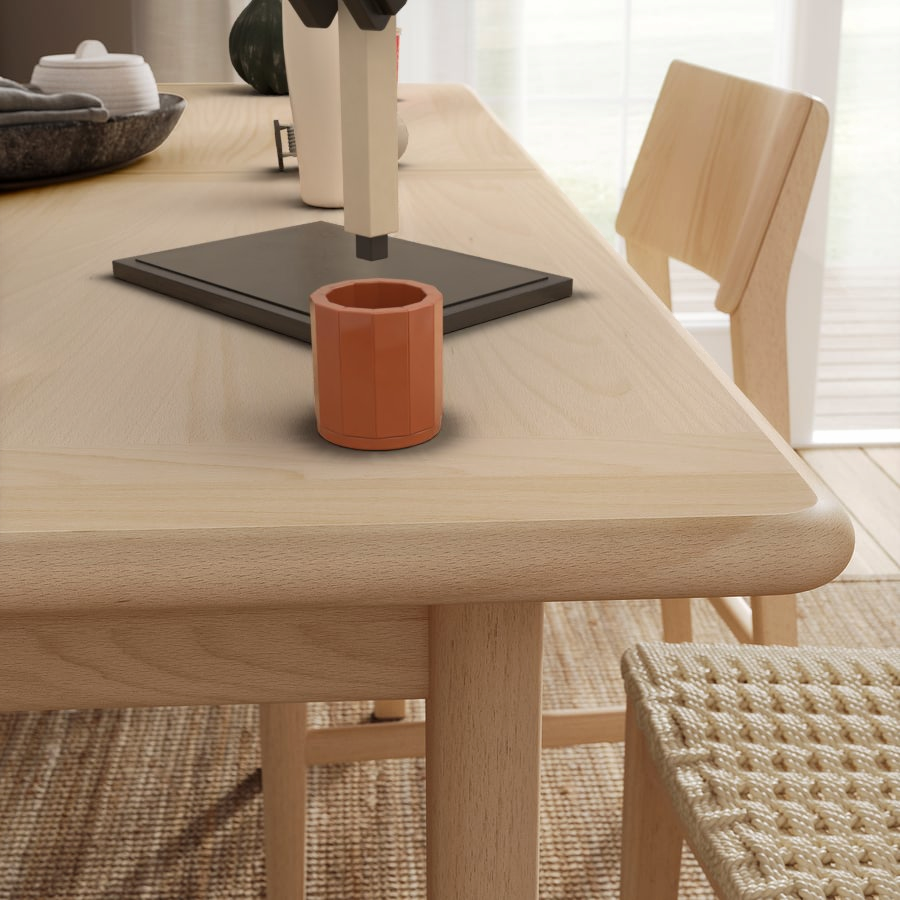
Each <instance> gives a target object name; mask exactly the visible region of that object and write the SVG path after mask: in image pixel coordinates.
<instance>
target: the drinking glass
mask: <svg viewBox="0 0 900 900" xmlns="http://www.w3.org/2000/svg"><path fill="white" fill-rule="evenodd" d="M282 27H283V46H284V57H285V66H286V74H287V82H288V89H289V91H288V96H289V104H290V111H291V118H292V123H293V127H294V135H295V142H296V150H297V157H296V158H297V166H298V177H299V193H300V198H301V200H302V201H303V202H304V203H305V204H306V205H308V206H313V207H317V208H327V209H328V208H329V209H330V208H331V209H336V208H337V209H338V208H344V199H343V166H342V133H341V99H340V66H339V33H338V12H337V14H336V15H335V17H334V19H333V21H332V23H331V25H330V26H329V27H328V28H308V27H306V26H305V25H304V24H303V22H302V21H301V19H300V18H299V16H298V15H297V13H296V12H295V10H294V9H293V7H292V5H291V4H290V2H289V1H288V0H282Z"/></svg>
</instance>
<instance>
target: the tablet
mask: <svg viewBox="0 0 900 900" xmlns="http://www.w3.org/2000/svg"><path fill="white" fill-rule="evenodd" d="M111 266H112V274H113V277H114V278H117V279H120V280H123V281H125V282H129V283H131V284H135V285H138V286H141V287H144V288H146V289H149V290H152V291H155V292H158V293H161V294H165V295H168V296H170V297H172V298H173V297H174V298H176V299H179V300H182V301H186V302H188V303H191V304H194V305H196V306H200V307H202V308H206V309H209V310H212V311H214V312H218V313H221V314H224V315H226V316H229V317H233V318H236V319H238V320H240V321H241V320H242V321H244V322H247V323H250V324H254V325H255V326H259V327H263V328H265V329H268V330H271V331H274V332H276V333H279V334H283V335H285V336H287V337H288V336H289V337H291V338H294V339H297V340H300V341H303V342H306V343H309V344H312V336H311V315H310V295H311V294H312V293H313V292H315V291H316V290H318V289H319V288H320V287H322V286H325V285H329V284H334V283H338V282H342V281H346V280H347V281H348V280H357V279H372V278H387V279H402V280H413V281H416V282H420V283H424V284H428V285H432V286H434V287H435V288H436V289H437V290H438V291H439V292H440V293H441V294H442V295H443V335H444V334H447V333H451V332H454V331H457V330H460V329H464V328H468V327H471V326H475V325H477V324H480V323H484V322H487V321H491V320H494V319H497V318H501V317H504V316H507V315H511V314H514V313H517V312H521V311H525V310H528V309H531V308H534V307H538V306H541V305H544V304H548V303H552V302H554V301H557V300H561V299H564V298H567V297H571V296H573V293H574V291H573V289H574V279H573V278H572V277H568V276H564V275H560V274H555V273H550V272H547V271H542V270H538V269H533V268H529V267H525V266H520V265H517V264H511V263H507V262H502V261H499V260H494V259H489V258H485V257H482V256H477V255H472V254H468V253H464V252H460V251H455V250H451V249H446V248H443V247H437V246H433V245H428V244H425V243H420V242H415V241H411V240H407V239H402V238H399V237H394V236H389V235H388V258H385V259H380V260H376V261H372V262H371V261H367V260H363V259H360V258H357V257H356V234H353V233H348V232H345V230H344V225H342V224H338V223H333V222H328V221H324V220H317V221H313V222H307V223H303V224H302V223H301V224H297V225H291V226H286V227H281V228H275V229H270V230H266V231H264V230H263V231H260V232H253V233H249V234H243V235H239V236H234V237H229V238H223V239H218V240H213V241H207V242H203V243H196V244H191V245H187V246H181V247H175V248H171V249H165V250H160V251H156V252H150V253H145V254H139V255H134V256H129V257H124V258H119V259H112V261H111Z"/></svg>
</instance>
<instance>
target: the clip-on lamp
mask: <svg viewBox="0 0 900 900" xmlns="http://www.w3.org/2000/svg"><path fill="white" fill-rule="evenodd" d="M397 125H398V161H399V160H400V159H401V158H402V157H403V155H404V154H405V153H406V150H407V147H408V145H409V130H408V126H407V124H406V122H405V121H404V119H403V118H402V116H401V115H399V114H398V113H397ZM273 128H274V129H273V130H274V141H275V148H276V154H277V155H276V157H277V163H278V164H277V165H278V169H279V170H284V169H285V166H284V165H285V164H284V158H289V157H293V158H297V150H296V142H295V135H294V127H293V122H291V123H289V124H288V123H287V124H286V123H285V124H284V123H280V121H279V119H273ZM284 130H286V132H287V134H286V136H287V140H288V141H287V144H288V151H289V152H287V151H286V152H285V151H283V143H282V135H281V131H284Z"/></svg>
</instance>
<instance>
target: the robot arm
mask: <svg viewBox="0 0 900 900" xmlns="http://www.w3.org/2000/svg"><path fill="white" fill-rule="evenodd" d="M288 1H289V2H290V4H291V5H292V7H293V9H294V10H295V12H296V13H297V15H298V16H299V18H300V19H301V21H302V22H303V24H304V25H305V26H306V27H308V28H328V27H329V26H330V25H331V23H332V21H333V19H334V17H335V15H336V14H337V12H338V0H288ZM343 2H344V4H345V5H346V7H347V9H348V10H349V12H350V14H351V16H352V17H353V19H354V21H355V22H356V24H357V26H358V27H359V28H360V29H361V30H367V31H382V30H384V29H385V27H386V26H387V24H388V22H389V20H390V18H391V16H395V15H396V16H397V14H398V13H399V12H400V11H401V10H402V9H403V8H404V6H406V4H407V2H408V0H343Z"/></svg>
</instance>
